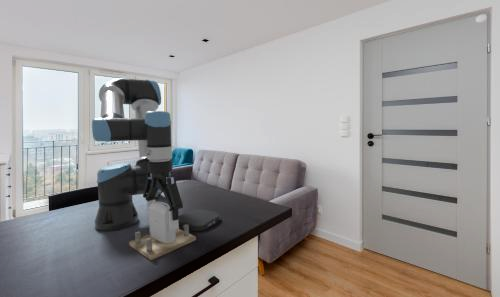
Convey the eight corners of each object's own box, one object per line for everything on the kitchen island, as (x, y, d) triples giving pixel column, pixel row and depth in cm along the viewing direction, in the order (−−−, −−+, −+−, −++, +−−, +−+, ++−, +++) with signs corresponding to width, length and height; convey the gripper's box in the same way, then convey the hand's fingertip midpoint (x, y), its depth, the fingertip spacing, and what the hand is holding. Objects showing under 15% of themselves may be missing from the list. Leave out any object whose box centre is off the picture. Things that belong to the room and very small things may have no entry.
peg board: (129, 245, 79) (128, 231, 78) (172, 228, 91) (172, 216, 90) (150, 260, 70) (150, 244, 69) (196, 240, 82) (195, 226, 81)
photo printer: (147, 237, 82) (146, 201, 80) (159, 232, 85) (157, 198, 84) (166, 245, 76) (164, 207, 74) (177, 240, 79) (176, 203, 78)
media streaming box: (195, 213, 107) (195, 207, 107) (223, 219, 100) (222, 212, 100) (170, 226, 94) (170, 218, 94) (200, 233, 87) (200, 225, 87)
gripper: (130, 157, 83) (133, 217, 85) (171, 165, 67) (173, 239, 69) (151, 155, 88) (153, 211, 90) (193, 162, 72) (195, 230, 75)
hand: (162, 223), depth 80 cm, fingers open, 13 cm apart
